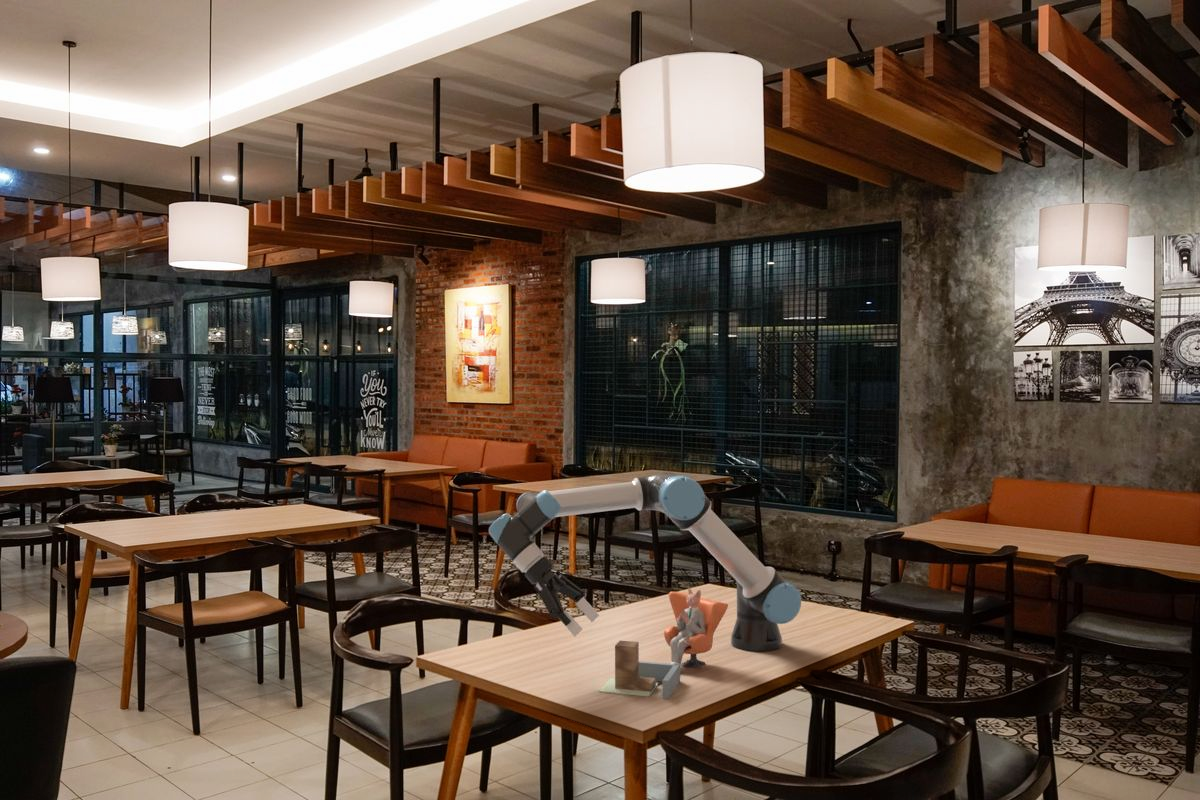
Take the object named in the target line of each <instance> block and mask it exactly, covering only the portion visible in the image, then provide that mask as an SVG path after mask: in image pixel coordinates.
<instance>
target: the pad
mask: <svg viewBox="0 0 1200 800" xmlns="http://www.w3.org/2000/svg"><path fill="white" fill-rule="evenodd" d="M659 682H660V681H656V686H655V687H654V689H653V690H652V692H649V691H637V690H626V689H615V677H610V678H609V679H608V680H607V681H606V683H605V684H604V685H602V687H601V688H600V689H599V691H598V692H599V693H603V694H605V693H606V694H614V695H615V694H616V695H624V696H625V695H626V696H636V697H637V696H638V697H647V698H648V697H650V696H651V695H652V693H653V692H654V691H655V689H656V688H657V686H658V685H659Z"/></svg>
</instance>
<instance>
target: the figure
mask: <svg viewBox="0 0 1200 800" xmlns="http://www.w3.org/2000/svg"><path fill="white" fill-rule="evenodd" d="M687 589H688V593H684V592H679V591H670V592H669V593H668V600H669V603H670V606H671V608H672V611H673V615H674V617H675V621H676V625H671V626H667V627H666V628H665V629H664V630H663V636H664V637H663V638H664V639H665V642H666V644H667V645H668V646H669V647H670V654H671V656H670V657H671V658H670V659H671V660H670V661H671V662H670V664H680V670H681V669H682V667H689V666H693V668H694V669H700V668H701V666H702V665H703V666H704V665H706V662H705V661H703V660H700V659H698V658H697V655H698V654H703V653H707V652H710V651H711V649H712V648H713V639H714V634H715V632H716V630H717V629H718V626H719V624H720V622H721V621H722V619H723V617H724V616H725V614H726V612H727V610H728V606H729V604H728V603H727V602H721V601H716V600H712V599H707V598H705V597H702V593H701V589H699V590H696V592H695V594H694V593H693V591H692V589H691V587H688V588H687ZM684 654H685V655H690V658H689V659H687V660H686V661H684V662H682V660H683V657H684Z"/></svg>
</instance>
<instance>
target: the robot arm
mask: <svg viewBox="0 0 1200 800" xmlns="http://www.w3.org/2000/svg"><path fill="white" fill-rule="evenodd" d="M626 509H636V510H637V511H658V512H660V513H663V514H665V515H666V516H667V517H668V518H669V519H670V520H671V521H672V523H673V524H675V525H676V526H677V527H678V528H679V529H680V531H689V532H690V533H691V534H692V535H693V537H695V539H697V541H699V543H700V544H701V545H702V546H703V547H704V548H705V549H706V550H707V551H708V552H709V553H710V555H712V557H714V558H715V559H716V561H718V563H719V564H720V565H721V566H722V567H723V568H724V569H725V570H726V571H727V572H728V573H729V574H730V576H732V578H733V579H734V580H735V582H736V620H735V623H734V627H733V630H732V633H731V636H730V645H732V646H733V647H735V648H737V649H741V650H744V651H755V652H756V651H757V652H766V651H773V650H774V651H775V650H777V649H780V648H782V646H783V638H782V634H781V631H780V628H779V624H780V625H781V624H788V623H789V622H791V621H793V620H794V619H795V618H796V617H797V616H798V614H799V612H800V610H801V607H802V596H801V592H799V589H797V588H796V586H795V585H793V584H792V583H789V582H787V581H786V580H785V579H784V578H783V576H782V575H780V573H778V571H777V570H776V569H775V568H774V567H772V566H765V565H764V564H763V563H762V562H761V560H759V559H758V558H757V557H756V556H755V554H753V552H752V551H751V550H749V548H748V547H747V545H745V543H743V542H742V540H740V538H739V537H737V535H736V534H735V533H734V532H733V531H732V530H731V529H730V528H729V527H728V526H727V524H725V522H723V521H722V520H721V519H720V517H719V516H718V515H717V514H716V513H715V512H714V511H713V510H712V501H711V500H710V498H708V497H707V495H706V494H705V492H704V490H703V488H702V486H701V485H700V483H699V482H697V481H696V480H695V479H693V478H691V477H689V476H687V475H682V474H676V473H674V472H661V473H656V474H652V475H646V476H640V477H634V478H633V480H632V481H628V482H618V483H609V484H601V485H591V486H585V487H576V488H575V487H573V488H568V489H557V490H550V491H548V490H547V489H544V490H542V491H540V492H533V491H528V492H524V493H522V494H521V495H520V496H519V497H518V498H517V501H516V511H517V513H515V514H514V515H510V514H509V513H504V514H502V515H500V516H499V517H498V518H497V519H495V520H494V521H493V522H492V523H491V525H490V526H489V527H488V534H489V536H490V537H491V538H492V539H493V541H494V542H495V543H496V545H498V546H499V547H498V548H500V549H501V550H502V551H503V552H504V554H506V556H507V557H508V558H509V559H510V560H511V561H512V563H514V565H515V568H517V569H518V570H519V571H520V572H521V573H524V576H525V578H526V579H527V580H528V581H529V582H530V584H531V585H534V586H533V589H534V590H535V591H536V593H538V595H539V597H540V600H541V601H542V602H543V604H544V606H545V608H546V610H547V612H548V614H549V615H550V617H551V618H552V619H554V620H556V619H557V618H558V619H559V621H560V622H561V623H562V624H563V625H564V626H565V627H566V628H567V630H568V631H569V632H570V634H571V635H573V637H576V636H577V635H578V634H579V633H581V632H582V630H583V628H582V626H581V625H580V624H579V623H578V622H577V621H576V619H575V618H574V617H573V616H572V615H571V614H570V612H568V610H567V609H565V610H564V607H563V605H562V602H561V599H560V597H559V595H558V594H559V593H560V594H562V595H563V596H565V597H567V598H568V599H570V600H572V601H573V602H576V603H575V605H576V606H577V608H578V609H579V610H580V611H581V612H582V613H583V615H585V616H586V618H587V619H588V620H589V621H590V622H591V623H593V622H594V621H595V620H596V619H598V617H599V616H600V614H599V613H598V612H597V611H596V610H595V608H593V606H592V605H591V604H590V603H589V602H588V601H587V599H586V598H585V596H586V592H585V591H584V590H583V589H582V588H580V587H579V586H578V585H577V584H575V583H573V582H572V581H571V580H570V579H568V578H567V577H566V576H565V575H564V574H562V573H561V571H560V570H556V571H555V572H553V570H552V569H553V568H554V563H553V562H552V561H551V560H550V559H549V558H548V557H547V556H544V551H542V550H541V548H539V546H538V545H537V544H536V543H535V542H534V541H533V540H532V539H531V538H533V537H534V536H535V535H536V534H537V533H538V532H539V531H540V530H541V529H543V528H544V527H545V526H546V525H547V524H548V523H550V522H551V521H552V520H553V519H555V518H559V517H567V516H576V515H583V514H594V513H601V512H609V511H619V510H626Z"/></svg>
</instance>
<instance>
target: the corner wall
mask: <svg viewBox="0 0 1200 800" xmlns="http://www.w3.org/2000/svg"><path fill="white" fill-rule="evenodd" d="M670 663H671V662H670ZM670 663H667V662H656V661H645V660H644V661H643V660H639V677H650V678H656V682H661V683H662V690H661V691H662V699H664V700H665V699H666V700H669V699H670V698H671V696H672V694H673V693H674V691H675V690H676V689H677V687H678V685H679V684H680V683H681V669H680V664H670Z"/></svg>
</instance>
